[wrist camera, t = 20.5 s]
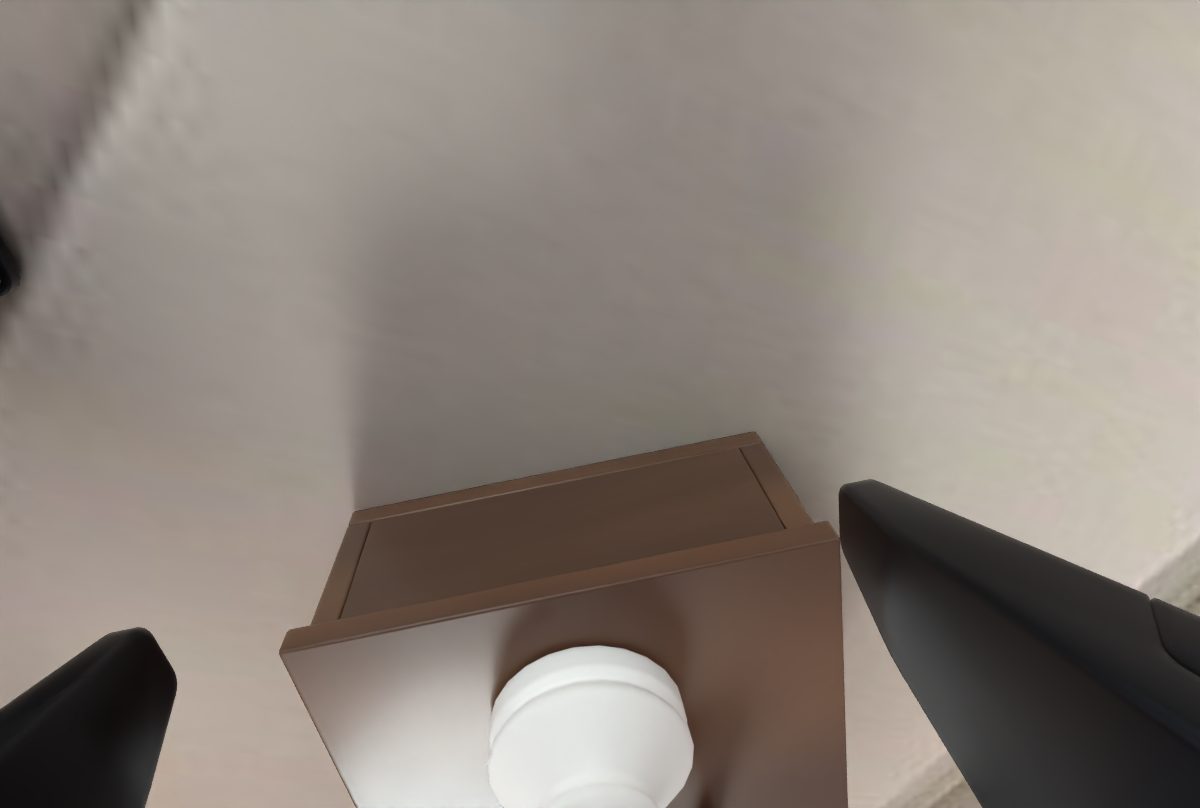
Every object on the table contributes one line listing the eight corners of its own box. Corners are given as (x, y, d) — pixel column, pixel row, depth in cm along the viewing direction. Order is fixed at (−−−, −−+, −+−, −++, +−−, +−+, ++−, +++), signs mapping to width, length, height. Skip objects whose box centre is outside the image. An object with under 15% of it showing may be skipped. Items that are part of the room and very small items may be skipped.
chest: (352, 511, 23) (298, 652, 18) (755, 429, 24) (829, 544, 18) (470, 810, 30) (458, 981, 25) (782, 746, 30) (842, 901, 25)
